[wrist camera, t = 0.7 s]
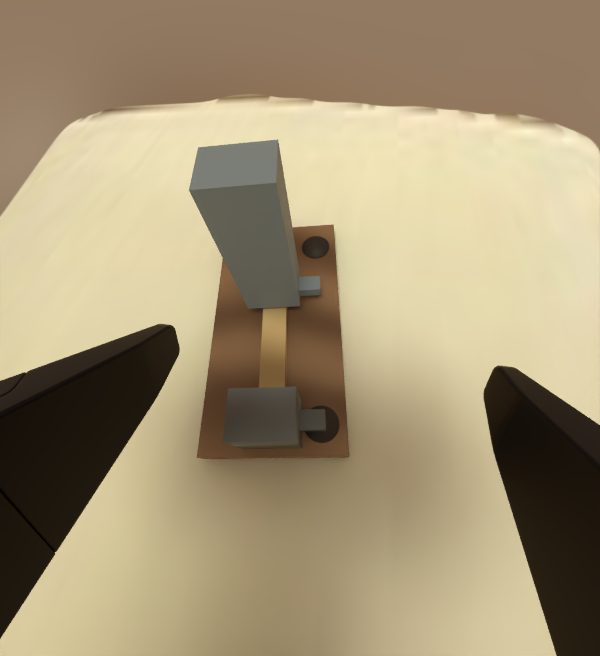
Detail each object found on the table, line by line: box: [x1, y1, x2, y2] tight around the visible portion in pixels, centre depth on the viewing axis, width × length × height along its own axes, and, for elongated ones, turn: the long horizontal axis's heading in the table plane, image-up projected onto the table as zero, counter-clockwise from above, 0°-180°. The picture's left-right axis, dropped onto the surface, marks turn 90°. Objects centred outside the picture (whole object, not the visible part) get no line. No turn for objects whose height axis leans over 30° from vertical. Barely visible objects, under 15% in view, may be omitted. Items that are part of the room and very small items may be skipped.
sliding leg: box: [189, 140, 321, 309], centre depth 20 cm, size 3×6×12 cm, turn 90°
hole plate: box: [197, 225, 349, 459], centre depth 23 cm, size 20×10×5 cm, turn 0°
